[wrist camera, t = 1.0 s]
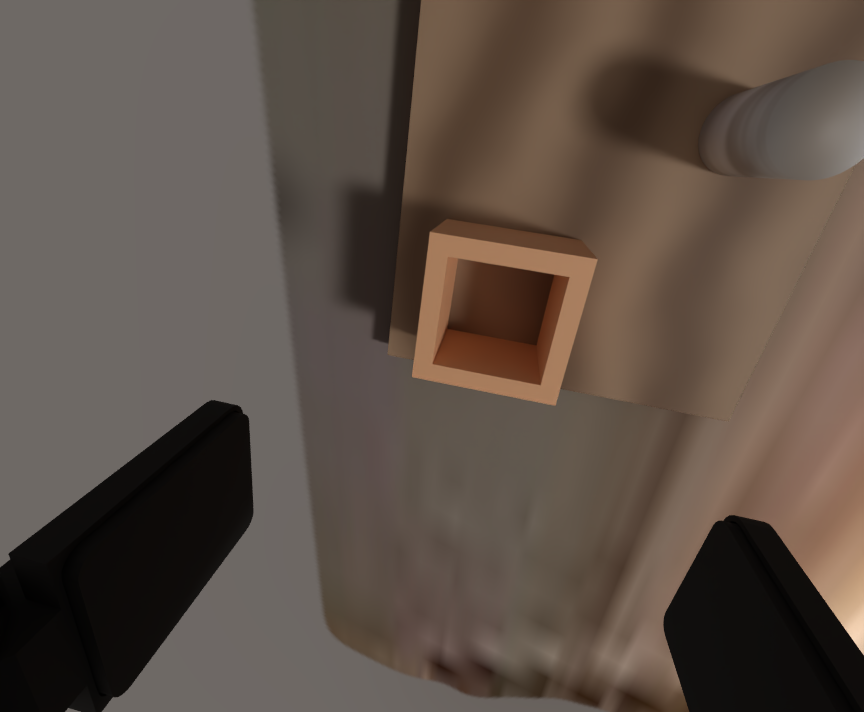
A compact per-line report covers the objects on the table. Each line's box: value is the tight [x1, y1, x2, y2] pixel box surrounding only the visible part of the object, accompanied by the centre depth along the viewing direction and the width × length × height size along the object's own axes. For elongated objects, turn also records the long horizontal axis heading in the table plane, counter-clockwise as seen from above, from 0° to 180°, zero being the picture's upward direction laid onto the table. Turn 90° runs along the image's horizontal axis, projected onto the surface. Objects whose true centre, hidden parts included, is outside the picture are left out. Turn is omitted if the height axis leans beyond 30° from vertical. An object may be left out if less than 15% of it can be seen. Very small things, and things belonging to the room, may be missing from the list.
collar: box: [412, 219, 598, 406], centre depth 22 cm, size 7×7×5 cm
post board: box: [388, 0, 864, 422], centre depth 20 cm, size 20×20×8 cm
